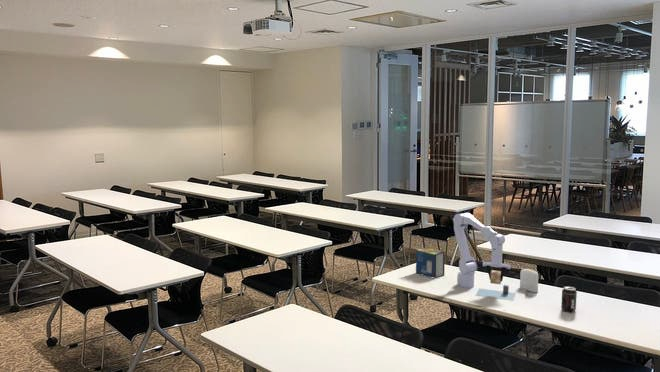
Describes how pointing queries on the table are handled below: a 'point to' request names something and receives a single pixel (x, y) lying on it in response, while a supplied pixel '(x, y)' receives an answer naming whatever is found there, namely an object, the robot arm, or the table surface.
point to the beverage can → (569, 299)
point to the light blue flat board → (495, 294)
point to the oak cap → (495, 277)
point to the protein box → (430, 262)
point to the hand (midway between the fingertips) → (496, 279)
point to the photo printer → (529, 280)
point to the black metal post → (505, 289)
